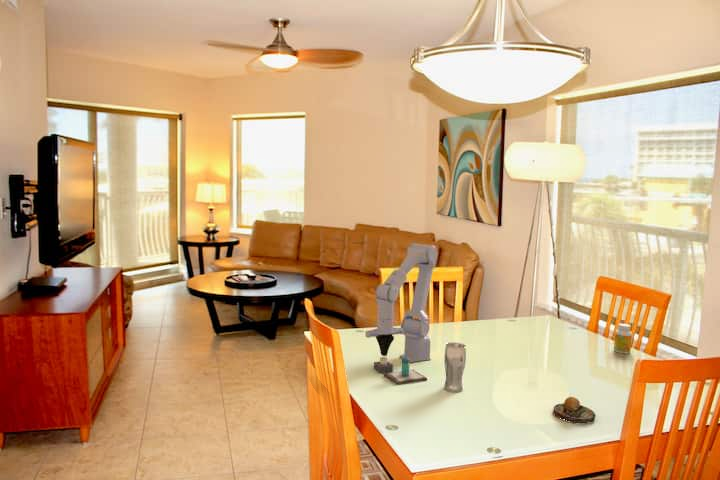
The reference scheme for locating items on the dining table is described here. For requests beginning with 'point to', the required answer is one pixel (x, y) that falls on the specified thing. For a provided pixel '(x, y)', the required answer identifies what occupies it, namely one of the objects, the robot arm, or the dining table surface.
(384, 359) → the button cap
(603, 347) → the dining table surface
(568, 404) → the dark base with ball
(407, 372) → the marker
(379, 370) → the button box
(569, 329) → the dining table surface
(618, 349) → the supplement bottle
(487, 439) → the dining table surface
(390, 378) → the grey flat tray
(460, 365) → the beer glass
